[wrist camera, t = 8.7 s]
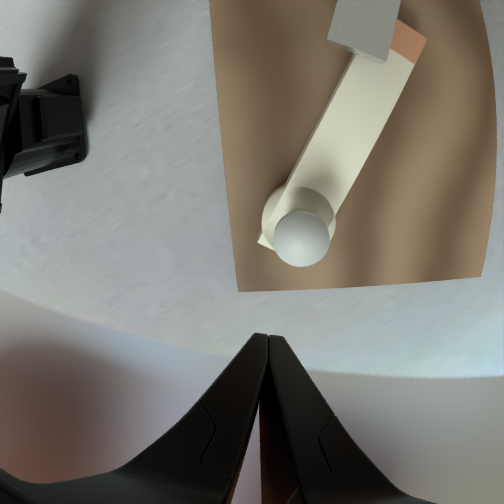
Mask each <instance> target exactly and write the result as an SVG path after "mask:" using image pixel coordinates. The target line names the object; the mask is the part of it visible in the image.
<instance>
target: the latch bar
mask: <svg viewBox="0 0 504 504" xmlns="http://www.w3.org/2000/svg"><path fill="white" fill-rule="evenodd" d="M426 41H427V39H426V38H425V37H424V36H422V35H421V34H419V33H418V32H416V31H415V30H413V29H412V28H411V27H409V26H408V25H406V24H404V23H403V22H401V21H400V20H398V19H397V20H396V25H395V29H394V33H393V37H392V42H391V46H390V50H389V54H388V57H387V61H386V62H385V63H383V64H379V63H377V62H374V61H372V60H369V59H367V58H364V57H362V56H359V55H356V54H354V53H353V55H352V57H351V59H350V61H349V63H348V65H347V67H346V69H345V70H344V72H343V74H342V76H341V78H340V80H339V82H338V84H337V86H336V88H335V89H334V91H333V93H332V95H331V97H330V99H329V101H328V103H327V105H326V107H325V109H324V110H323V112H322V114H321V116H320V118H319V120H318V122H317V124H316V126H315V128H314V129H313V131H312V133H311V135H310V137H309V139H308V141H307V143H306V145H305V147H304V149H303V150H302V152H301V154H300V156H299V158H298V160H297V162H296V164H295V166H294V168H293V170H292V172H291V173H290V175H289V177H288V179H287V181H286V183H285V184H284V185H282V186H280V187H278V188H277V189H276V190H274V191H273V192H272V193H271V195H270V196H269V197H268V199H267V201H266V203H265V206H264V210H263V214H262V229H261V231H260V233H259V237H258V242H257V243H259V244H261V245H264V246H266V247H268V248H270V249H272V250H274V251H276V253H277V254H278V256H279V257H280V258H281V259H282V260H283V261H284V262H286V263H288V264H290V265H293V266H297V267H305V266H310V265H313V264H315V263H317V262H318V261H320V260H321V259H322V258H323V257H324V255H325V254H326V252H327V251H328V248H329V244H330V240H331V239H332V237H333V234H334V232H335V227H336V218H335V215H336V213H337V211H338V209H339V208H340V206H341V204H342V202H343V201H344V199H345V197H346V195H347V194H348V192H349V190H350V188H351V187H352V185H353V183H354V181H355V179H356V178H357V176H358V174H359V172H360V170H361V168H362V167H363V165H364V163H365V161H366V159H367V157H368V156H369V154H370V152H371V150H372V148H373V146H374V144H375V143H376V141H377V139H378V137H379V135H380V133H381V131H382V129H383V127H384V125H385V123H386V122H387V120H388V118H389V116H390V114H391V112H392V110H393V108H394V106H395V104H396V102H397V100H398V98H399V96H400V94H401V92H402V90H403V88H404V86H405V84H406V82H407V80H408V78H409V76H410V74H411V71H412V69H413V67H414V65H415V64H416V62H417V60H418V58H419V56H420V54H421V51H422V49H423V47H424V45H425V43H426Z"/></svg>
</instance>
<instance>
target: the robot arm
mask: <svg viewBox="0 0 504 504" xmlns="http://www.w3.org/2000/svg"><path fill="white" fill-rule="evenodd" d="M26 76H27V73H23V72H19V69H17V68H16V67H14V62H13V58H11V57H1V56H0V213H1V209H2V204H1V192H2V183H3V179H6V178H9V177H12V176H15V175H18V174H21V173H24V175H25V176H31V175H34V174H38V173H41V172H45V171H48V170H52V169H56V168H60V167H64V166H68V165H72V164H76V163H80V162H82V161H84V159H85V157H86V152H85V145H84V137H83V123H82V113H81V102H80V96H79V80H78V76H77V75H74V74H70V75H67V76H65V77H62V78H60V79H58V80H55V81H53V82H51V83H49V84H46V85H44V86H42V87H40V88H38V89H21V87H22V84H23V83H24V82H25V79H26ZM71 79H72V83H70V81H71ZM78 153H79V154H80V158H78ZM258 405H259V428H260V429H259V430H260V465H261V503H262V504H436V503H433V502H429V501H425V500H422V499H419V498H415V497H413V496H410V495H408V494H406V493H404V492H403V491H401V490H400V489H398V488H397V487H396V486H395V485H394V484H393V483H392V482H391V481H390V480H389V479H388V478H387V477H386V476H385V475H384V474H383V473H382V472H381V471H380V469H379V468H378V467H377V466H376V465H375V464H374V463H373V462H372V461H371V460H370V459H369V458H368V456H367V455H366V454H365V453H364V452H363V451H362V450H361V448H360V447H359V446H358V445H357V444H356V442H355V441H354V440H353V439H352V438H351V436H350V435H349V433H348V432H347V431H346V429H345V428H344V427H343V425H342V424H341V423H340V421H339V419H338V418H337V416H335V414H334V412H333V411H332V409H331V408H330V406H329V405H328V403H327V402H326V400H325V399H324V397H323V396H322V394H321V393H320V391H319V390H318V388H317V387H316V385H315V384H314V382H313V381H312V379H311V378H310V376H309V375H308V373H307V372H306V370H305V369H304V367H303V366H302V364H301V363H300V361H299V360H298V358H297V357H296V355H295V354H294V352H293V350H292V349H291V347H290V346H289V344H288V343H287V341H286V340H285V338H284V337H283V336H277V335H269V337H268V335H267V334H262V333H254V334H253V335H252V336H251V337H250V339H249V340H248V341H247V342H246V344H245V345H244V346H243V347H242V348H241V350H240V351H239V352H238V353H237V355H236V356H235V357H234V358H233V359H232V361H231V362H230V363H229V364H228V366H227V367H226V368H225V369H224V370H223V371H222V373H221V374H220V375H219V376H218V377H217V379H216V380H215V381H214V382H213V383H212V385H211V386H210V387H209V388H208V389H207V390H206V392H205V393H204V394H203V395H202V396H201V397H200V399H199V400H198V401H197V402H196V403H195V404H194V405H193V406H192V408H191V409H190V410H189V411H188V412H187V413H186V414H185V415H184V416H183V417H182V418H181V419H180V420H179V421H178V422H177V423H176V424H175V425H174V426H173V427H172V428H170V429H169V430H168V431H167V432H166V433H165V434H163V435H162V436H161V437H160V438H159V439H157V440H156V441H155V442H154V443H152V444H151V445H150V446H148V447H147V448H146V449H145V450H143V451H142V452H141V453H140V454H138V455H137V456H136V457H134V458H133V459H132V460H130V461H129V462H128V463H126V464H124V465H123V466H121V467H119V468H117V469H115V470H112V471H109V472H106V473H102V474H97V475H92V476H87V477H82V478H77V479H71V480H65V481H58V482H51V483H31V482H27V481H23V480H20V479H18V478H16V477H14V476H12V475H11V474H9V473H8V472H6V471H5V470H3V469H2V468H0V504H231V501H232V498H233V495H234V492H235V488H236V485H237V482H238V478H239V475H240V471H241V468H242V464H243V461H244V457H245V454H246V450H247V447H248V443H249V440H250V436H251V432H252V428H253V425H254V421H255V417H256V414H257V410H258Z"/></svg>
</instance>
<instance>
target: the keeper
mask: <svg viewBox="0 0 504 504" xmlns="http://www.w3.org/2000/svg"><path fill="white" fill-rule="evenodd" d="M400 2H401V0H337V1H336V5H335V8H334V12H333V15H332V19H331V22H330V26H329V29H328V33H327V36H326V39H325V44H328V45H331V46H334V47H337V48H340V49H343V50H346V51H348V52H351V53H354V54H356V55H359V56H362V57H364V58H367V59H369V60H372V61H374V62H377V63H379V64H383V63H385V62H386V61H387V57H388V54H389V50H390V46H391V42H392V37H393V33H394V29H395V25H396V20H397V16H398V11H399V7H400Z"/></svg>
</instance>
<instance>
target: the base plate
mask: <svg viewBox="0 0 504 504" xmlns="http://www.w3.org/2000/svg"><path fill="white" fill-rule="evenodd" d="M336 1H337V0H209V3H210V16H211V28H212V41H213V53H214V64H215V76H216V87H217V98H218V109H219V119H220V130H221V140H222V150H223V160H224V169H225V179H226V189H227V198H228V207H229V216H230V225H231V234H232V243H233V252H234V261H235V269H236V278H237V286H238V292H251V291H281V290H305V289H326V288H345V287H362V286H377V285H391V284H405V283H418V282H430V281H441V280H452V279H462V278H472V277H481V274H482V269H483V264H484V260H485V255H486V249H487V244H488V238H489V232H490V225H491V218H492V210H493V201H494V190H495V177H496V155H497V123H496V101H495V88H494V78H493V70H492V62H491V55H490V49H489V43H488V38H487V33H486V28H485V23H484V19H483V14H482V10H481V6H480V2H479V0H401V2H400V7H399V11H398V16H397V19H398V20H400V21H401V22H403V23H404V24H406V25H408V26H409V27H411V28H412V29H413V30H415V31H416V32H418V33H419V34H421V35H422V36H424V37H425V38H426V39H427V41H426V43H425V45H424V47H423V49H422V51H421V54H420V56H419V58H418V60H417V62H416V64H415V65H414V67H413V69H412V71H411V74H410V76H409V78H408V80H407V82H406V84H405V86H404V88H403V90H402V92H401V94H400V96H399V98H398V100H397V102H396V104H395V106H394V108H393V110H392V112H391V114H390V116H389V118H388V120H387V122H386V123H385V125H384V127H383V129H382V131H381V133H380V135H379V137H378V139H377V141H376V143H375V144H374V146H373V148H372V150H371V152H370V154H369V156H368V157H367V159H366V161H365V163H364V165H363V167H362V168H361V170H360V172H359V174H358V176H357V178H356V179H355V181H354V183H353V185H352V187H351V188H350V190H349V192H348V194H347V195H346V197H345V199H344V201H343V202H342V204H341V206H340V208H339V209H338V211H337V213H336V215H335V218H336V227H335V232H334V234H333V237H332V239H331V240H330V244H329V248H328V251H327V252H326V254H325V255H324V257H323V258H322V259H321V260H320V261H318V262H317V263H315V264H313V265H310V266H305V267H297V266H293V265H290V264H288V263H286V262H284V261H283V260H282V259H281V258H280V257H279V256H278V254H277V253H276V251H274V250H272V249H270V248H268V247H266V246H264V245H261V244H259V243H257V242H258V237H259V233H260V231H261V229H262V214H263V210H264V206H265V203H266V201H267V199H268V197H269V196H270V195H271V193H272V192H273V191H274V190H276V189H277V188H278V187H280V186H282V185H284V184H285V183H286V181H287V179H288V177H289V175H290V173H291V172H292V170H293V168H294V166H295V164H296V162H297V160H298V158H299V156H300V154H301V152H302V150H303V149H304V147H305V145H306V143H307V141H308V139H309V137H310V135H311V133H312V131H313V129H314V128H315V126H316V124H317V122H318V120H319V118H320V116H321V114H322V112H323V110H324V109H325V107H326V105H327V103H328V101H329V99H330V97H331V95H332V93H333V91H334V89H335V88H336V86H337V84H338V82H339V80H340V78H341V76H342V74H343V72H344V70H345V69H346V67H347V65H348V63H349V61H350V59H351V57H352V55H353V53H351V52H348V51H346V50H343V49H340V48H337V47H334V46H331V45H328V44H325V39H326V36H327V33H328V29H329V26H330V22H331V19H332V15H333V12H334V8H335V5H336Z"/></svg>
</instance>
